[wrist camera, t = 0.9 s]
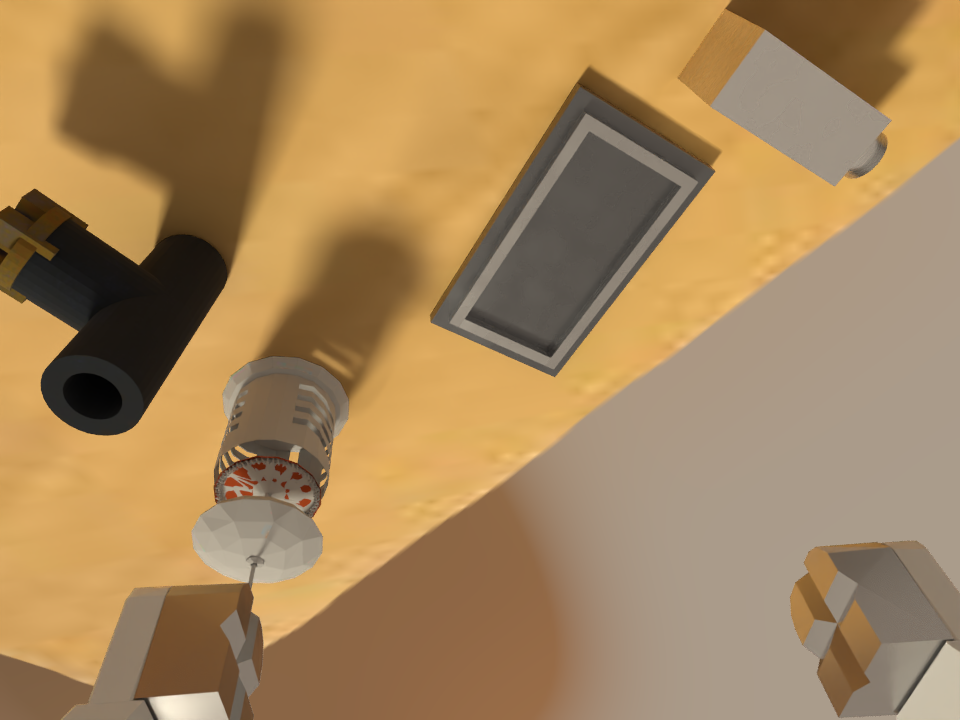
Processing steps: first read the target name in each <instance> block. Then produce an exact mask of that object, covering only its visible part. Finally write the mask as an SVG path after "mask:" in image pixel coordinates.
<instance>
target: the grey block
mask: <svg viewBox="0 0 960 720" xmlns="http://www.w3.org/2000/svg"><path fill="white" fill-rule="evenodd" d="M678 79H679V80H680V81H681V82H682V83H684V84H685V85H686V86H687V87H688V88H689V89H691V90H692V91H693V92H694V93H695V94H696V95H697V96H699V97H700V98H701V99H702V100H703V101H704V102H706V103H707V104H708V105H709V106H710V107H712V108H713V109H715V110H717V111H718V112H720V113H721V114H723V115H724V116H726V117H727V118H729V119H731V120H732V121H734V122H735V123H737V124H738V125H740V126H741V127H743V128H745V129H746V130H748V131H749V132H751V133H752V134H754V135H755V136H757V137H759V138H760V139H762V140H763V141H765V142H766V143H768V144H769V145H771V146H773V147H774V148H776V149H777V150H779V151H780V152H782V153H783V154H785V155H787V156H788V157H790V158H791V159H793V160H794V161H796V162H797V163H799V164H801V165H802V166H804V167H805V168H807V169H808V170H810V171H811V172H813V173H815V174H816V175H818V176H819V177H821V178H822V179H824V180H825V181H827V182H829V183H830V184H832V185H833V186H836V184H837V183H838V182H839V181H840V180H841V179H842V177H843V176H845V177H847V178H851V179H852V178H858V177H861V176H863V175H865V174H867V173H868V172H869V171H871V170H872V169H873V168H874V167H875V166H876V165H877V164H878V163H879V162H880V160H881V159H882V157H883V155H884V153H885V151H886V148H887V137H886V135H885V134H884V133H882V131H883V130H884V129H885V128H886V126H887V125H888V124H889V123H890V122H891V121H892V120H890V119H889V118H888V117H886V116H885V115H883V114H882V113H881V112H879V111H878V110H877V109H875V108H874V107H872V106H871V105H870V104H868V103H867V102H865V101H864V100H863V99H861V98H860V97H858V96H857V95H856V94H854V93H853V92H851V91H850V90H849V89H847V88H846V87H844V86H843V85H842V84H840V83H839V82H837V81H836V80H835V79H833V78H832V77H830V76H829V75H828V74H826V73H825V72H824V71H822V70H821V69H819V68H818V67H817V66H815V65H814V64H812V63H811V62H810V61H808V60H807V59H805V58H804V57H803V56H801V55H800V54H798V53H797V52H796V51H794V50H793V49H791V48H790V47H789V46H787V45H786V44H784V43H783V42H782V41H780V40H779V39H778V38H776V37H775V36H773V35H772V34H771V33H769V32H768V31H766V30H765V29H763V28H761V27H759V26H757V25H755V24H753V23H751V22H750V21H748V20H746V19H744V18H742V17H740V16H738V15H736V14H734V13H732V12H730V11H728V10H726V9H724V11H723V12H722V14H721V15H720V17H719V18H718V20H717V21H716V23H715V24H714V25H713V27H712V28H711V30H710V31H709V33H708V34H707V36H706V37H705V39H704V40H703V42H702V43H701V44H700V46H699V47H698V49H697V50H696V52H695V53H694V55H693V56H692V58H691V59H690V61H689V62H688V63H687V65H686V66H685V68H684V69H683V71H682V72H681V74H680V75H679V77H678Z"/></svg>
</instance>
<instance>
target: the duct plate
mask: <svg viewBox="0 0 960 720" xmlns="http://www.w3.org/2000/svg"><path fill="white" fill-rule="evenodd" d="M714 172H715V170H714V169H713V168H712V167H711V166H710V165H708V164H707V163H705V162H703V161H702V160H700V159H699V158H697V157H695V156H694V155H692V154H691V153H689V152H687V151H686V150H684V149H683V148H681V147H679V146H678V145H676V144H675V143H673V142H671V141H670V140H668V139H667V138H665V137H663V136H662V135H660V134H659V133H657V132H655V131H654V130H652V129H651V128H649V127H647V126H646V125H644V124H643V123H641V122H639V121H638V120H636V119H635V118H633V117H632V116H630V115H628V114H627V113H625V112H624V111H622V110H620V109H619V108H617V107H616V106H614V105H612V104H611V103H609V102H608V101H606V100H604V99H603V98H601V97H600V96H598V95H596V94H595V93H593V92H592V91H590V90H588V89H587V88H585V87H584V86H582V85H580V84H579V83H576V85H575V86H574V88H573V90H572V91H571V93H570V94H569V96H568V98H567V99H566V101H565V102H564V104H563V105H562V107H561V109H560V110H559V112H558V113H557V115H556V117H555V118H554V120H553V121H552V123H551V125H550V126H549V128H548V129H547V131H546V132H545V134H544V136H543V137H542V139H541V140H540V142H539V144H538V145H537V147H536V148H535V150H534V151H533V153H532V155H531V156H530V158H529V159H528V161H527V163H526V164H525V166H524V167H523V169H522V170H521V172H520V174H519V175H518V177H517V178H516V180H515V182H514V183H513V185H512V186H511V188H510V189H509V191H508V193H507V194H506V196H505V197H504V199H503V201H502V202H501V204H500V205H499V207H498V209H497V210H496V212H495V213H494V215H493V216H492V218H491V220H490V221H489V223H488V224H487V226H486V228H485V229H484V231H483V232H482V234H481V235H480V237H479V239H478V240H477V242H476V243H475V245H474V247H473V248H472V250H471V251H470V253H469V254H468V256H467V258H466V259H465V261H464V262H463V264H462V266H461V267H460V269H459V270H458V272H457V273H456V275H455V277H454V278H453V280H452V281H451V283H450V285H449V286H448V288H447V289H446V291H445V292H444V294H443V296H442V297H441V299H440V300H439V302H438V304H437V305H436V307H435V308H434V310H433V312H432V313H431V315H430V319H431V323H433V324H436V325H438V326H440V327H442V328H445V329H447V330H449V331H451V332H454V333H456V334H458V335H461V336H463V337H465V338H467V339H470V340H472V341H474V342H476V343H479V344H481V345H483V346H485V347H488V348H490V349H492V350H495V351H497V352H499V353H501V354H504V355H506V356H508V357H510V358H513V359H515V360H517V361H520V362H522V363H524V364H526V365H529V366H531V367H533V368H535V369H538V370H540V371H542V372H544V373H547V374H549V375H551V376H554V377H555V376H556V375H557V374H558V373H559V371H560V370H561V369H562V367H563V366H564V365H565V364H566V362H567V361H568V360H569V358H570V357H571V356H572V355H573V353H574V352H575V351H576V349H577V348H578V347H579V346H580V344H581V343H582V342H583V340H584V339H585V338H586V337H587V335H588V334H589V333H590V331H591V330H592V329H593V328H594V326H595V325H596V324H597V323H598V321H599V320H600V319H601V317H602V316H603V315H604V314H605V312H606V311H607V310H608V308H609V307H610V306H611V305H612V303H613V302H614V301H615V299H616V298H617V297H618V296H619V294H620V293H621V292H622V290H623V289H624V288H625V287H626V285H627V284H628V283H629V281H630V280H631V279H632V278H633V276H634V275H635V274H636V272H637V271H638V270H639V269H640V267H641V266H642V265H643V263H644V262H645V261H646V260H647V258H648V257H649V256H650V255H651V253H652V252H653V251H654V249H655V248H656V247H657V246H658V244H659V243H660V242H661V240H662V239H663V238H664V237H665V235H666V234H667V233H668V231H669V230H670V229H671V228H672V226H673V225H674V224H675V222H676V221H677V220H678V219H679V217H680V216H681V215H682V213H683V212H684V211H685V210H686V208H687V207H688V206H689V204H690V203H691V202H692V201H693V199H694V198H695V197H696V196H697V194H698V193H699V192H700V190H701V189H702V188H703V187H704V185H705V184H706V183H707V181H708V180H709V179H710V178H711V176H712V175H713V174H714Z"/></svg>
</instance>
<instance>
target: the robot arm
mask: <svg viewBox="0 0 960 720" xmlns="http://www.w3.org/2000/svg"><path fill="white" fill-rule="evenodd" d="M804 564H805V566H806V568H807V570H808V572H809V573H807V574H806V575H805V576H803V577H802V578H801V579H799V580H798V581H797V582H795V585H794V588H793V591H792V594H791V596H790V602H791V616H792V620H793V623H794V627H795V630H796V632H797V634H798V636H799V638H800V641H801V643H802V645H803V646H804V647H805V648H807V649H808V650H809V651H811V652H812V653H813V654H814V655H816V656H817V657H818V658H820V662H819V666H818V670H817V675H818V677H819V679H820V681H821V683H822V685H823V687H824V689H825V691H826V693H827V695H828V697H829V699H830V701H831V703H832V705H833V707H834V709H835V711H836V713H837V715H838V717H839V718H843V717H862V716H881V715H897V717H896V719H897V720H960V593H959V591H958V590H957V589H956V588H955V586H954V585H953V583H952V582H951V581H950V579H949V578H948V577H947V575H946V574H945V573H944V571H943V570H942V569H941V567H940V566H939V564H938V563H937V562H936V561H935V559H934V558H933V556H932V555H931V554H930V552H929V551H928V550H927V549H926V547H924V546H923V545H922V544H920V543H919V542H917V541H900V542H886V543H878V542H872V543H859V544H846V545H833V546H820V547H815V548H814V549H812V550H811V551H809V552H808V555H807V557H806V559H805V561H804ZM253 599H254V597H253V594H252V591H251V588H250V585H249V583H239V584H214V585H188V586H163V587H145V588H134V590H133V591H132V592H131V594H130V595H129V596H128V598H127V599H126V601H125V603H124V606H123V609H122V612H121V614H120V617H119V620H118V622H117V625H116V628H115V631H114V633H113V636H112V639H111V641H110V644H109V647H108V650H107V652H106V655H105V658H104V660H103V663H102V666H101V669H100V671H99V674H98V677H97V679H96V682H95V685H94V688H93V690H92V693H91V696H90V698H89V701H88V703H87V704H78V705H75V706H74V707H73V708H72V709H71V710H70V711H69V712H68V713H67V714H66V715H65V716H64V717H63V718H62V719H61V720H253V718H254V715H253V712H252V708H251V705H250V702H249V699H248V697H249V696H250V695H251V694H252V692H253V691H254V690H255V689H256V688H257V687H258V686H259V683H260V676H261V670H262V662H263V634H262V627H261V623H260V619H259V617H258V616H257V615H255V614H253V613H252V612H251V609H252V604H253Z"/></svg>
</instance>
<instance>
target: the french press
mask: <svg viewBox="0 0 960 720" xmlns="http://www.w3.org/2000/svg"><path fill="white" fill-rule="evenodd" d="M223 405H224V413H225V415H226V416H227V418H228V420H229V421H228V425H227V428H228V429H227V428H226V431H225V435H224V438H223V441H222V444H221V448H220V451H219V454H218V458H217V461H216V465H215V468H214V484H215V485H214V494H215V502H216V503H217V504H216V505H215V506H213V507H212V508H210V509H209V510H207V511H206V512H204V513H203V514H202V515H200V517H199V519H198V521H197V522H196V524H195V526H194V528H193V530H192V540H193V549H194V550H195V551H196V553H197V554H198V555H199V557H200V558H201V559H202V561H203V562H204V563H205V564H206V565H208V566H209V567H211V568H213V569H214V570H216V571H217V572H219V573H221V574H222V575H224V576H227V577H230V578H232V579H235V580H238V581H242V582H247V583H249V585H250V588H252V583H276V582H280V581H284V580H288V579H292V578H295V577H297V576H299V575H300V574H302V573H304V572H305V571H307V570H308V569H310V568H312V567H313V565H314V564H315V563H316V561H317V560H318V558H319V557H320V555H321V554H322V541H323V536H322V534H321V533H320V531H319V529H318V527H317V526H316V524H315V522H314V521H313V520H312V519H311V518H312V517H313V516H314V515H315V513H316V511H317V510H318V508H319V507H320V505H321V499H322V498H323V496H324V493H325V491H326V488H327V486H328V480H329V469H330V464H329V460H330V463H331V454H332V445H333V438H334V437H336V436H337V435H339V433H340V431H341V430H342V428H343V426H344V425H345V423H346V421H347V420H348V410H349V399H348V397H347V395H346V393H345V391H344V389H343V387H342V385H341V383H340V382H339V381H338V380H337V379H336V378H335V377H334V376H332V375H331V374H330V373H329V372H328V371H327V370H325V369H324V368H323V367H321V366H319V365H316V364H314V363H311V362H308V361H306V360H303V359H301V358H295V357H278V356H271V357H268V358H264V359H260V360H256V361H253V362H249V363H247V364H246V365H245V366H243V367H242V368H241V369H240V370H238V371H237V372H236V373H234V374H233V375H232V376H231V377H230V379H229V381H228V383H227V385H226V387H225V390H224V392H223ZM229 423H230V424H229ZM229 428H230V433H229ZM227 432H228V433H227ZM226 434H227V435H226ZM330 442H331V444H330ZM236 446H239V447H241V448H242V449H244V450H245V451H247V452H250V453H254V454H257V456H255V457H251V458H249V457H246V456H244V455H243V454H241V453H240V452H238V451H237V450H235V448H234V447H236ZM326 446H327V450H326V451H325V449H324V448H325V447H326ZM229 450H231V453H232V455H233V456H234V457H236V458H238V459H239V460H240V461H237V462H235V463H234V462H233V461H232V460H231V458H230V456H229V454H228V451H229ZM290 452H299V458H298V463H295V462H292V461H289V456H290ZM223 454H224V456H225V459H226V461H227V463H228V465H229V467H228V468H227V469H226V467H225V465H224V463H223V461H222V455H223ZM328 454H329V457H328V456H327V455H328ZM219 459H220V468H221V470H222V472H221V473H220V475H219ZM322 469H325V471H326V472H325V473H323V474H322V475H321V472H322ZM326 476H327V480H326V482H325V484H324V485H323V486H321V487H320V482H321V481H322V480H324V479H325V478H326Z"/></svg>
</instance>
